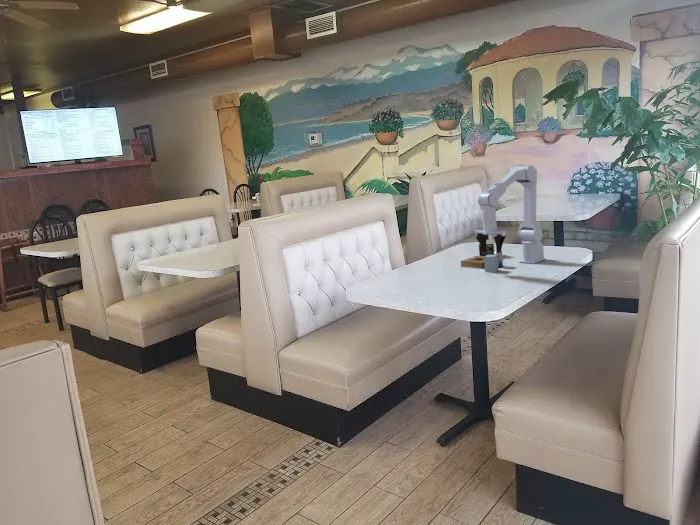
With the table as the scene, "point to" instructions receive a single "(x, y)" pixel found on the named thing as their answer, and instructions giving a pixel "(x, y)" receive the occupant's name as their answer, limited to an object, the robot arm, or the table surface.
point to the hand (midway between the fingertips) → (491, 251)
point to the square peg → (491, 263)
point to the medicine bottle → (488, 247)
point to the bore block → (474, 262)
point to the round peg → (499, 259)
